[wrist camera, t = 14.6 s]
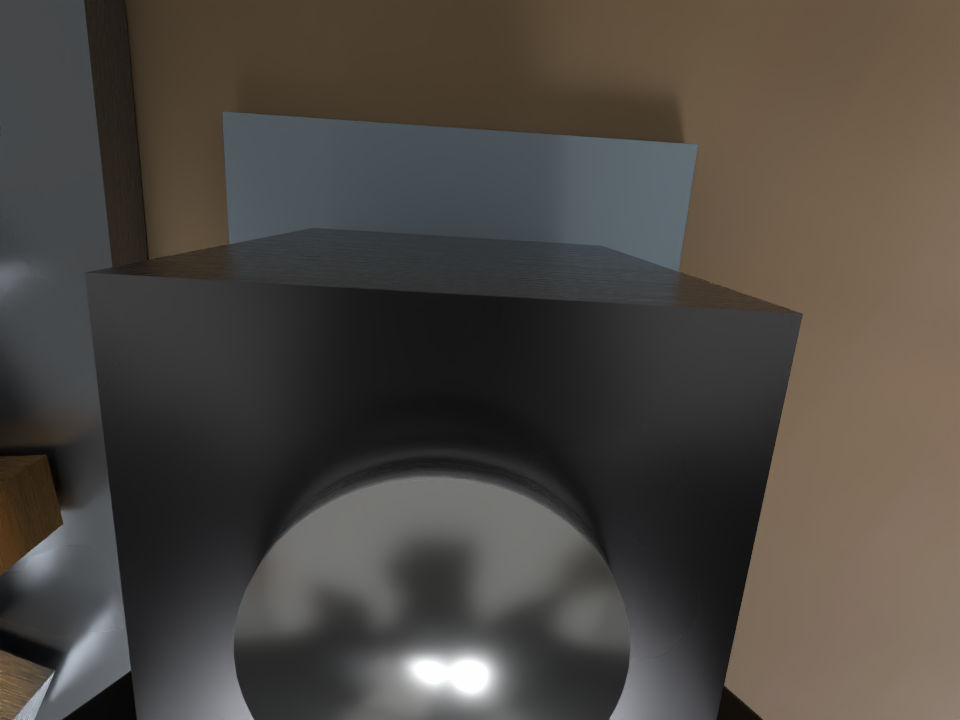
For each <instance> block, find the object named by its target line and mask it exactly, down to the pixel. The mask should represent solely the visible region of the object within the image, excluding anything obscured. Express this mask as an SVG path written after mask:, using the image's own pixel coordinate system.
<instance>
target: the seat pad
mask: <svg viewBox="0 0 960 720" xmlns="http://www.w3.org/2000/svg"><path fill="white" fill-rule="evenodd" d="M222 117H223V136H224V155H225V174H226V193H227V212H228V231H229V244H233V243H238V242H243V241H248V240H253V239H258V238H263V237H268V236H274V235H279V234H284V233H289V232H294V231H299V230H304V229H309V228H325V229H341V230H357V231H373V232H390V233H406V234H422V235H438V236H454V237H471V238H487V239H503V240H519V241H535V242H552V243H568V244H584V245H600V246H605V247H608V248H610V249H613V250H616V251H619V252H622V253H625V254H628V255H631V256H634V257H637V258H640V259H643V260H646V261H649V262H652V263H655V264H658V265H660V266H663V267H666V268H669V269H672V270H675V271H678V272H679V267H680V260H681V254H682V247H683V240H684V234H685V227H686V221H687V214H688V208H689V201H690V194H691V188H692V181H693V175H694V168H695V162H696V155H697V148H698V144H685V143H670V142H656V141H641V140H627V139H613V138H598V137H584V136H569V135H555V134H540V133H526V132H511V131H497V130H482V129H468V128H453V127H439V126H425V125H410V124H396V123H381V122H367V121H352V120H338V119H323V118H309V117H294V116H280V115H265V114H251V113H237V112H222Z"/></svg>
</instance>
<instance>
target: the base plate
mask: <svg viewBox="0 0 960 720" xmlns="http://www.w3.org/2000/svg"><path fill="white" fill-rule="evenodd" d="M146 260H148V254H147V243H146V232H145V220H144V209H143V198H142V187H141V176H140V165H139V154H138V142H137V131H136V120H135V109H134V98H133V87H132V76H131V64H130V53H129V42H128V31H127V20H126V9H125V0H0V457H3V456H30V455H47V459H48V463H49V467H50V471H51V475H52V479H53V483H54V487H55V491H56V495H57V499H58V503H59V507H60V511H61V515H62V519H63V523H64V524H63V525H61V526H60V527H59V528H58V529H57V530H55V531H54V532H53V533H52V534H50V535H49V536H48V537H47V538H46V539H44V540H43V541H42V542H41V543H39V544H38V545H37V546H36V547H35V548H33V549H32V550H31V551H30V552H29V553H27V554H26V555H25V556H24V557H22V558H21V559H20V560H19V561H18V562H16V563H15V564H14V565H13V566H11V567H10V568H9V569H8V570H7V571H5V572H4V573H3V574H2V575H0V650H1V651H4V652H7V653H9V654H12V655H15V656H17V657H20V658H23V659H25V660H28V661H31V662H33V663H36V664H39V665H41V666H44V667H47V668H49V669H52V670H55V672H54V674H53V677H52V679H51V682H50V684H49V686H48V689H47V691H46V693H45V696H44V698H43V700H42V703H41V705H40V707H39V710H38V712H37V714H36V717H35V719H34V720H62V719H63V718H65V717H66V716H68V715H69V714H70V713H72V712H73V711H75V710H76V709H77V708H79V707H80V706H82V705H83V704H84V703H86V702H87V701H89V700H90V699H91V698H93V697H94V696H96V695H97V694H99V693H100V692H101V691H103V690H104V689H106V688H107V687H108V686H110V685H111V684H113V683H114V682H115V681H117V680H118V679H120V678H121V677H122V676H124V675H125V674H127V673H128V672H129V671H131V665H130V657H129V648H128V640H127V631H126V623H125V614H124V605H123V597H122V588H121V580H120V571H119V563H118V554H117V546H116V537H115V529H114V520H113V512H112V503H111V494H110V486H109V477H108V469H107V460H106V452H105V443H104V435H103V426H102V418H101V409H100V401H99V392H98V383H97V375H96V366H95V358H94V349H93V341H92V332H91V324H90V315H89V307H88V298H87V290H86V281H85V272H90V271H95V270H100V269H105V268H111V267H116V266H121V265H126V264H131V263H136V262H141V261H146Z"/></svg>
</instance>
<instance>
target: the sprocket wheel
mask: <svg viewBox="0 0 960 720" xmlns="http://www.w3.org/2000/svg"><path fill="white" fill-rule="evenodd" d="M63 524H64V523H63V519H62V515H61V511H60V507H59V503H58V499H57V495H56V491H55V487H54V483H53V479H52V475H51V471H50V467H49V463H48V459H47V455H30V456H3V457H0V575H2V574H3V573H4V572H5V571H7V570H8V569H9V568H10V567H11V566H13V565H14V564H15V563H16V562H18V561H19V560H20V559H21V558H22V557H24V556H25V555H26V554H27V553H29V552H30V551H31V550H32V549H33V548H35V547H36V546H37V545H38V544H39V543H41V542H42V541H43V540H44V539H46V538H47V537H48V536H49V535H50V534H52V533H53V532H54V531H55V530H57V529H58V528H59V527H60V526H61V525H63ZM54 672H55V670H52V669H49V668H47V667H44V666H41V665H39V664H36V663H33V662H31V661H28V660H25V659H23V658H20V657H17V656H15V655H12V654H9V653H7V652H4V651H1V650H0V720H34V719H35V717H36V714H37V712H38V710H39V707H40V705H41V703H42V700H43V698H44V696H45V693H46V691H47V689H48V686H49V684H50V682H51V679H52V677H53V674H54Z"/></svg>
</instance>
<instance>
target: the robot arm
mask: <svg viewBox="0 0 960 720" xmlns="http://www.w3.org/2000/svg"><path fill="white" fill-rule="evenodd" d="M62 720H137V716H136V708H135V699H134V691H133V682H132V674H131V671H129V672H128V673H127V674H125V675H124V676H122V677H121V678H120V679H118V680H117V681H115V682H114V683H113V684H111V685H110V686H108V687H107V688H106V689H104V690H103V691H101V692H100V693H99V694H97V695H96V696H94V697H93V698H91V699H90V700H89V701H87V702H86V703H84V704H83V705H82V706H80V707H79V708H77V709H76V710H75V711H73V712H72V713H70V714H69V715H68V716H66V717H65V718H63V719H62ZM717 720H763V719H762V718H761V717H759V716H758V715H757V714H756V713H755V712H754V711H753V710H752V709H750V708H749V707H748V706H747V705H746V704H745V703H744V702H742V701H741V700H740V699H739V698H738V697H737V696H736V695H734V694H733V693H732V692H731V691H730V690H729V689H728V688H726V687H725V686H724V687H723V691H722V696H721V701H720V705H719V710H718V715H717Z"/></svg>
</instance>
